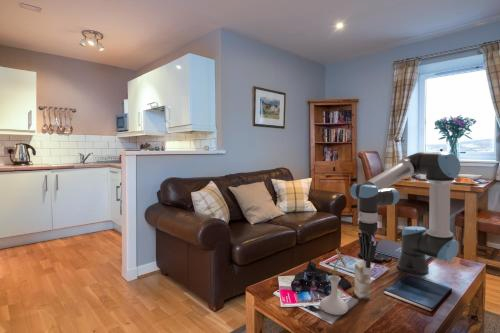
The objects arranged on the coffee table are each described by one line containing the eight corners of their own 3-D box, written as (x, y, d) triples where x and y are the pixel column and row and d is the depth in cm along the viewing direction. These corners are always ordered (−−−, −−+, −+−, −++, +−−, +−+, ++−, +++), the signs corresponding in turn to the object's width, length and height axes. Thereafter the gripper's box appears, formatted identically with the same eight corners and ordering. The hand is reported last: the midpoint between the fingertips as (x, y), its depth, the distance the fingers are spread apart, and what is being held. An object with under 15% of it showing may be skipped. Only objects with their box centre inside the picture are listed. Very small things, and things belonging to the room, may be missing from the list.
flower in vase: (344, 321, 112) (345, 259, 110) (316, 312, 118) (316, 253, 116) (352, 305, 123) (353, 248, 121) (325, 297, 129) (326, 243, 127)
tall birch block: (364, 293, 133) (365, 262, 132) (370, 299, 128) (371, 266, 127) (354, 294, 132) (355, 262, 131) (359, 300, 127) (360, 267, 126)
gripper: (352, 217, 130) (351, 267, 132) (367, 225, 117) (365, 281, 119) (368, 216, 131) (367, 267, 133) (384, 224, 118) (382, 280, 120)
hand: (366, 273), depth 126 cm, fingers closed
